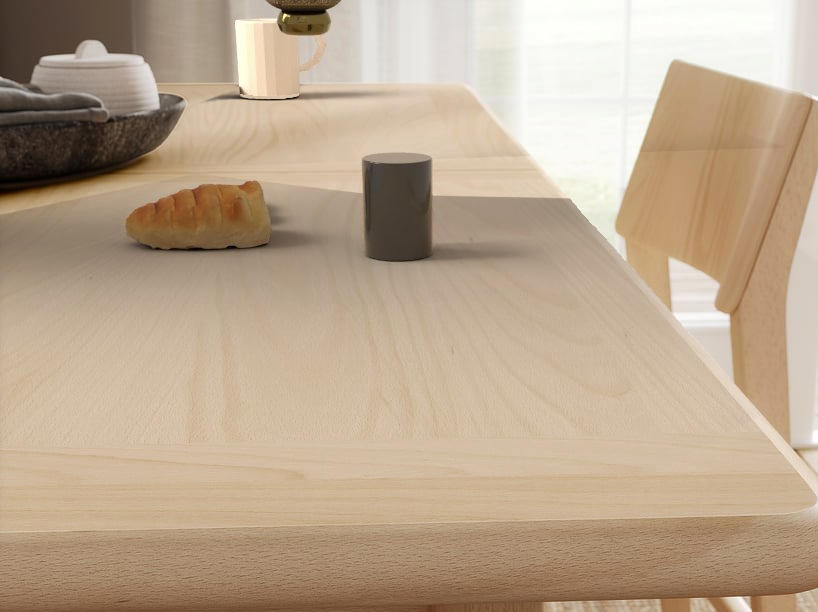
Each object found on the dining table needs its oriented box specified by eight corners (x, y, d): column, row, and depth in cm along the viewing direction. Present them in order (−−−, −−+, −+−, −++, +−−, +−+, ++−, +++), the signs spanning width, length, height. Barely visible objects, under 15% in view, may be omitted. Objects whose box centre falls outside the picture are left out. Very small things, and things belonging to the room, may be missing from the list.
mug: (331, 98, 157) (329, 20, 153) (241, 100, 155) (236, 21, 151) (325, 92, 164) (322, 18, 160) (239, 94, 162) (234, 18, 158)
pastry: (131, 257, 74) (125, 196, 72) (123, 236, 80) (117, 179, 78) (278, 246, 77) (275, 187, 75) (260, 226, 83) (257, 171, 81)
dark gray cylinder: (358, 260, 73) (355, 162, 71) (370, 244, 77) (368, 151, 75) (428, 261, 73) (427, 164, 71) (436, 246, 77) (436, 152, 75)
